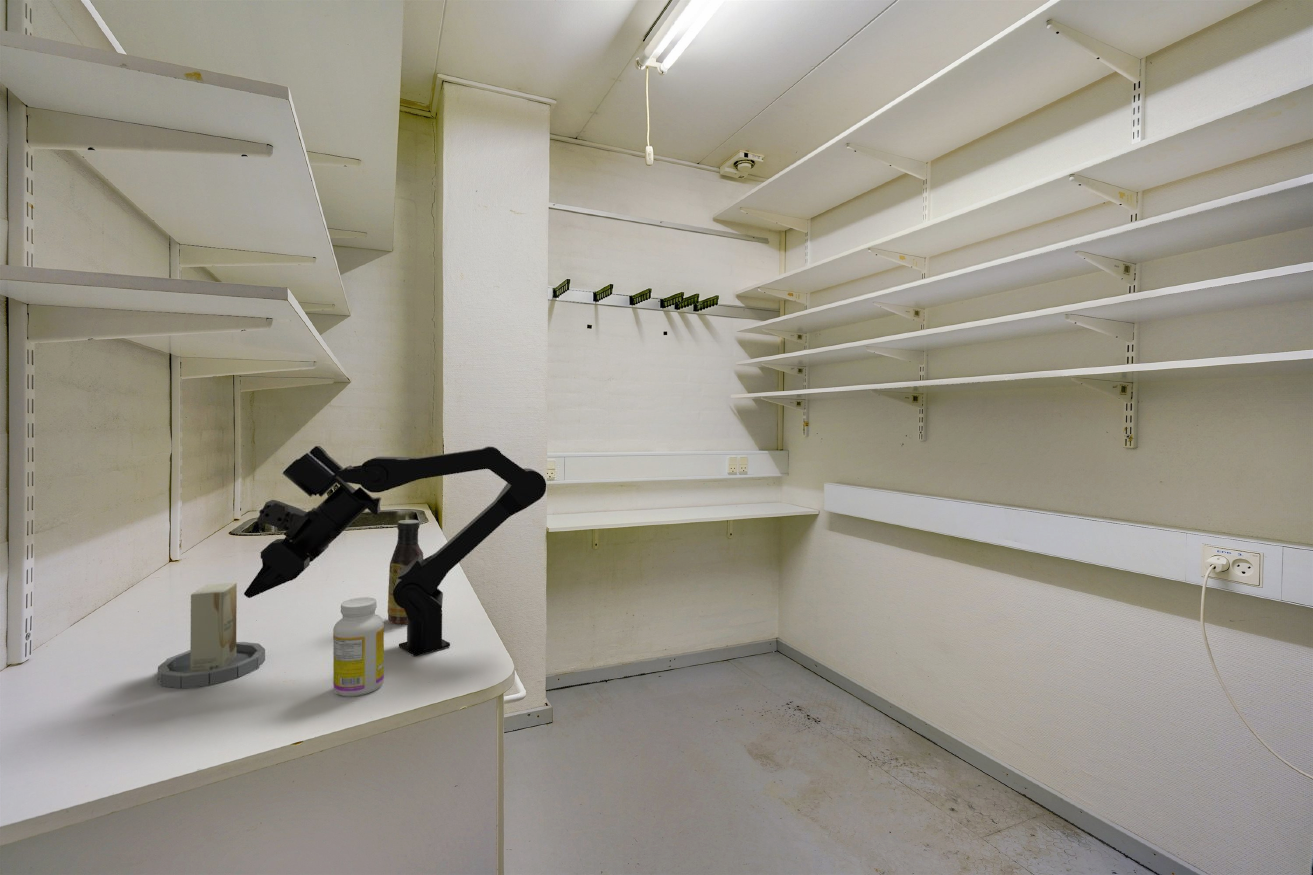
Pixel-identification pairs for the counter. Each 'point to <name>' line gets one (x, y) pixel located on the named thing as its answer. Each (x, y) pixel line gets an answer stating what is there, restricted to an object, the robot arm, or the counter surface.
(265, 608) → the counter surface
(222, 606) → the skincare box
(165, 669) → the round tray
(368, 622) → the supplement bottle
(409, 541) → the sauce bottle
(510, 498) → the robot arm
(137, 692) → the counter surface
